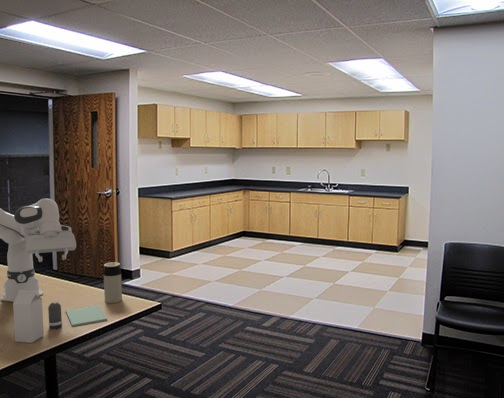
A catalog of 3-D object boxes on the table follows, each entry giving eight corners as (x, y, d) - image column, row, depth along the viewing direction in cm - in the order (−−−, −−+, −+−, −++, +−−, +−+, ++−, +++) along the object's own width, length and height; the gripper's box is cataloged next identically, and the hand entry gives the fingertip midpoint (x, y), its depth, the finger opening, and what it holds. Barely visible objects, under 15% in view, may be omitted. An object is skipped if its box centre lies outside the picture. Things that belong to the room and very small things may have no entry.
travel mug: (104, 304, 216) (102, 266, 214) (105, 299, 223) (103, 262, 221) (122, 302, 218) (120, 265, 216) (122, 297, 225) (120, 261, 223)
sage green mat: (65, 311, 206) (65, 310, 205) (98, 306, 212) (98, 304, 212) (72, 326, 188) (72, 324, 188) (107, 320, 195) (107, 318, 195)
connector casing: (48, 326, 189) (47, 301, 188) (61, 323, 191) (60, 299, 190) (49, 330, 184) (48, 305, 183) (63, 327, 187) (61, 303, 186)
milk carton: (32, 343, 172) (29, 294, 170) (15, 342, 173) (12, 293, 171) (44, 335, 179) (41, 288, 177) (27, 334, 180) (24, 287, 178)
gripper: (24, 230, 197) (25, 259, 190) (74, 227, 206) (78, 254, 200) (23, 236, 201) (25, 265, 195) (73, 233, 211) (76, 261, 205)
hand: (52, 260), depth 198 cm, fingers open, 8 cm apart
